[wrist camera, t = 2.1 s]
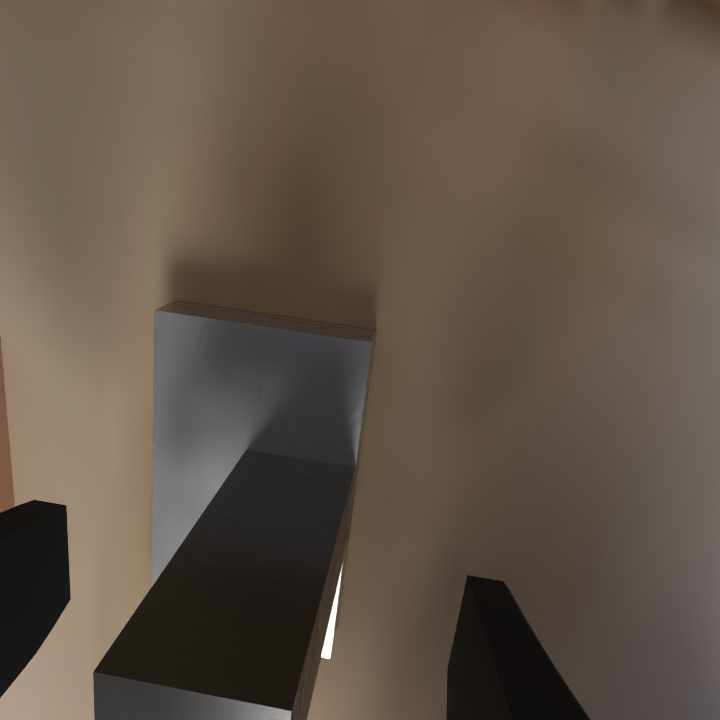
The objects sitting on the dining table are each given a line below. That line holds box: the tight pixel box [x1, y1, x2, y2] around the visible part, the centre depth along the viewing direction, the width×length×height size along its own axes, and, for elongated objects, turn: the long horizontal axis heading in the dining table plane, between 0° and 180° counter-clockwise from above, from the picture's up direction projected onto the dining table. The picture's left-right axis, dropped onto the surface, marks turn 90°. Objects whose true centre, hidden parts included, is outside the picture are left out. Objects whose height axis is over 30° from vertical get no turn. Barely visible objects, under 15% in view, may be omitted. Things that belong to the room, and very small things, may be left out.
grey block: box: [93, 301, 376, 720], centre depth 11 cm, size 4×8×7 cm, turn 173°
